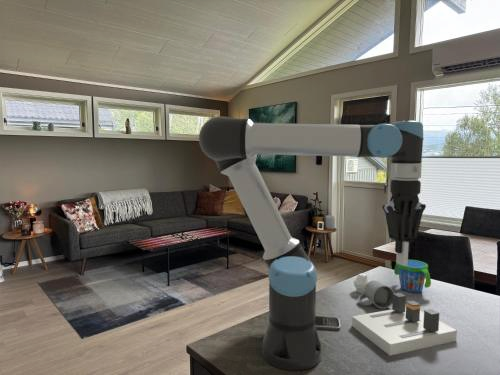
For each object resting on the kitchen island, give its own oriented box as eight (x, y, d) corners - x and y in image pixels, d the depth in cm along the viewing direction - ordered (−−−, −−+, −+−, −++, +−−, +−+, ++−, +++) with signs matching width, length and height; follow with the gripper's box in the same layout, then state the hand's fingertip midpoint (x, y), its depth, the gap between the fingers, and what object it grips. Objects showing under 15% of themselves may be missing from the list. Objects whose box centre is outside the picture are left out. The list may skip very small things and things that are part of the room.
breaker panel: (390, 355, 87) (390, 343, 87) (352, 326, 102) (352, 316, 102) (456, 340, 94) (456, 330, 94) (411, 315, 109) (411, 305, 109)
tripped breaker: (412, 322, 97) (413, 305, 97) (405, 318, 100) (405, 301, 99) (419, 321, 98) (420, 304, 97) (412, 317, 100) (413, 300, 100)
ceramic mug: (382, 298, 122) (382, 276, 122) (394, 308, 114) (395, 285, 113) (353, 300, 121) (353, 278, 120) (364, 310, 113) (364, 287, 112)
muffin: (365, 296, 124) (365, 277, 123) (349, 291, 128) (350, 273, 127) (373, 292, 128) (374, 273, 127) (359, 287, 132) (359, 269, 132)
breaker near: (431, 332, 92) (432, 314, 91) (423, 327, 94) (424, 310, 94) (438, 331, 92) (439, 313, 92) (430, 326, 95) (431, 309, 94)
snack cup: (386, 283, 137) (387, 258, 136) (409, 281, 139) (410, 256, 138) (413, 299, 121) (414, 270, 120) (438, 296, 124) (440, 268, 123)
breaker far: (398, 313, 103) (399, 296, 102) (392, 309, 105) (392, 293, 105) (405, 311, 104) (405, 295, 103) (398, 308, 106) (399, 292, 106)
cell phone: (341, 332, 99) (341, 327, 99) (302, 329, 101) (302, 324, 101) (339, 322, 106) (339, 317, 105) (302, 319, 107) (302, 314, 107)
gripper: (395, 180, 88) (392, 270, 90) (435, 179, 92) (431, 265, 94) (376, 178, 95) (373, 262, 97) (414, 177, 99) (410, 258, 101)
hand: (401, 263), depth 96 cm, fingers closed
